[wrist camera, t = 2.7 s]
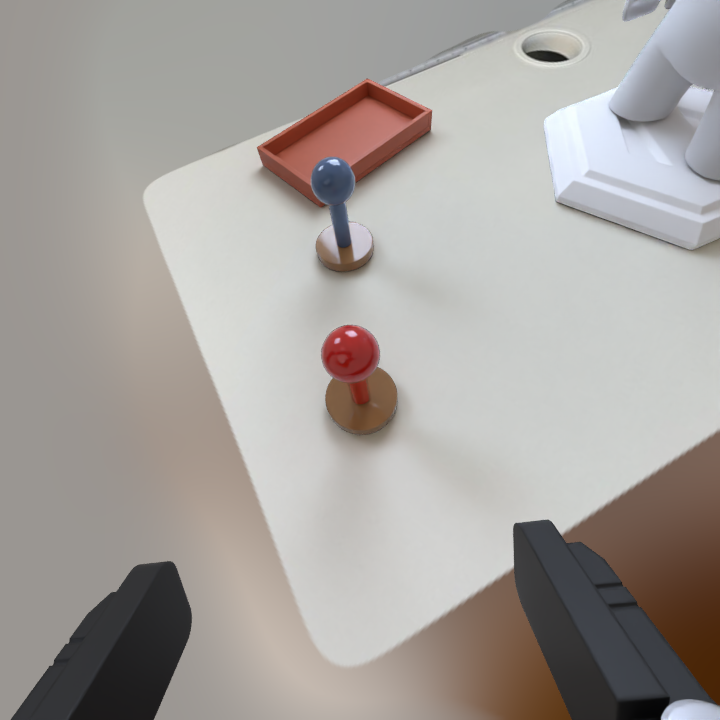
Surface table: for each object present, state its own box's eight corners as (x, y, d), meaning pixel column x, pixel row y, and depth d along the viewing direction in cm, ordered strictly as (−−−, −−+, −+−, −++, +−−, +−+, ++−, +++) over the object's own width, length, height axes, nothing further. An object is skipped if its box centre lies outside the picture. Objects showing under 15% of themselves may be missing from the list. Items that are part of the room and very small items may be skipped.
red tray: (320, 207, 39) (316, 190, 37) (262, 165, 43) (256, 147, 41) (431, 129, 43) (432, 110, 41) (368, 97, 47) (367, 78, 45)
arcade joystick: (360, 449, 27) (342, 403, 19) (313, 400, 29) (280, 340, 21) (412, 400, 29) (415, 338, 21) (363, 356, 31) (350, 284, 23)
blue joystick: (343, 281, 34) (325, 196, 26) (306, 251, 36) (279, 164, 28) (385, 248, 36) (380, 158, 28) (347, 221, 38) (333, 129, 30)
